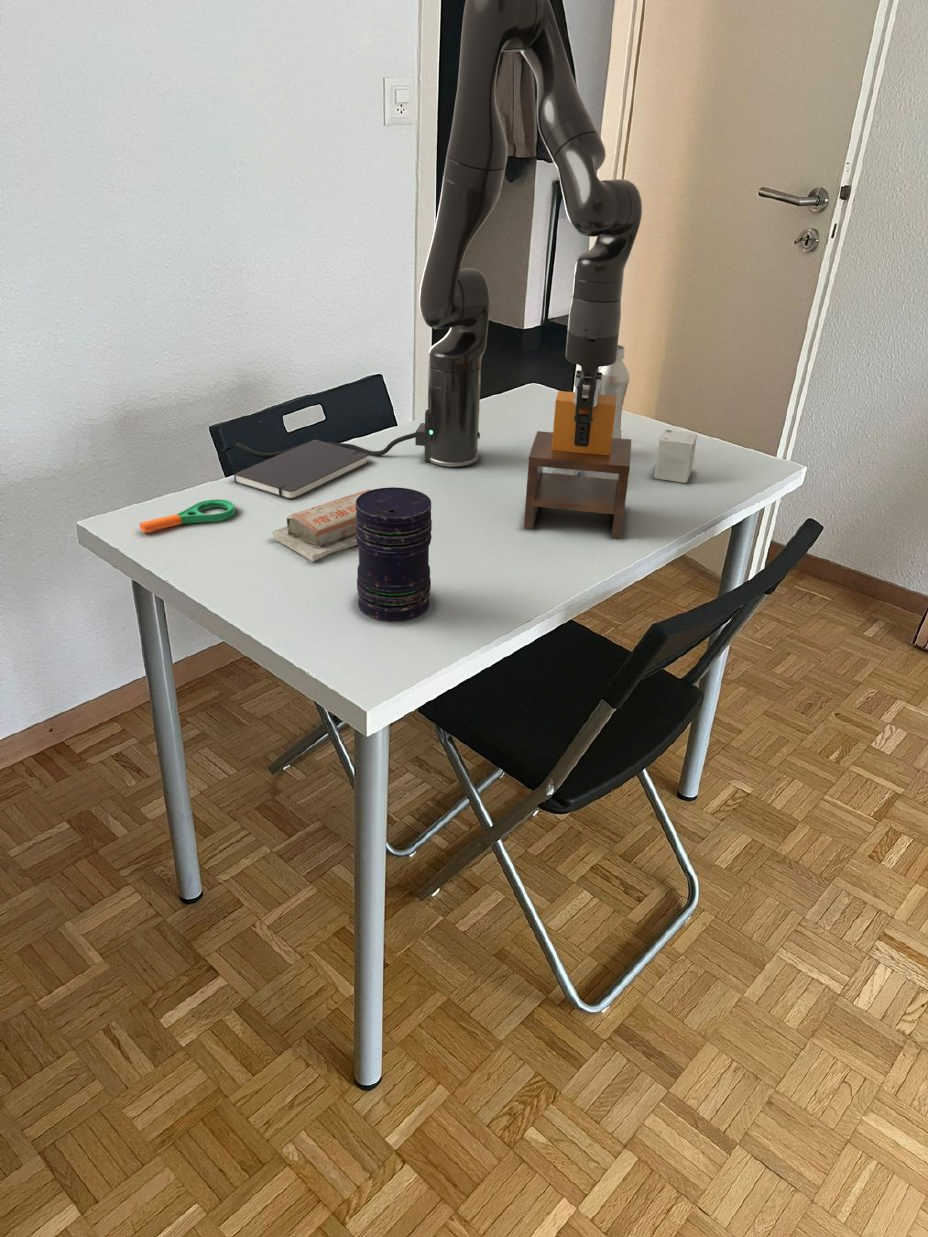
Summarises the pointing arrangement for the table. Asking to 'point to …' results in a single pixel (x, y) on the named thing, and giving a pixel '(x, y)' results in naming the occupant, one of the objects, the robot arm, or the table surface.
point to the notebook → (301, 469)
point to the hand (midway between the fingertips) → (582, 437)
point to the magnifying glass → (191, 515)
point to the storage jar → (393, 553)
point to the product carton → (675, 456)
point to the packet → (598, 430)
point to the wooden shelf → (577, 481)
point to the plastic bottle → (615, 386)
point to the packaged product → (321, 528)
